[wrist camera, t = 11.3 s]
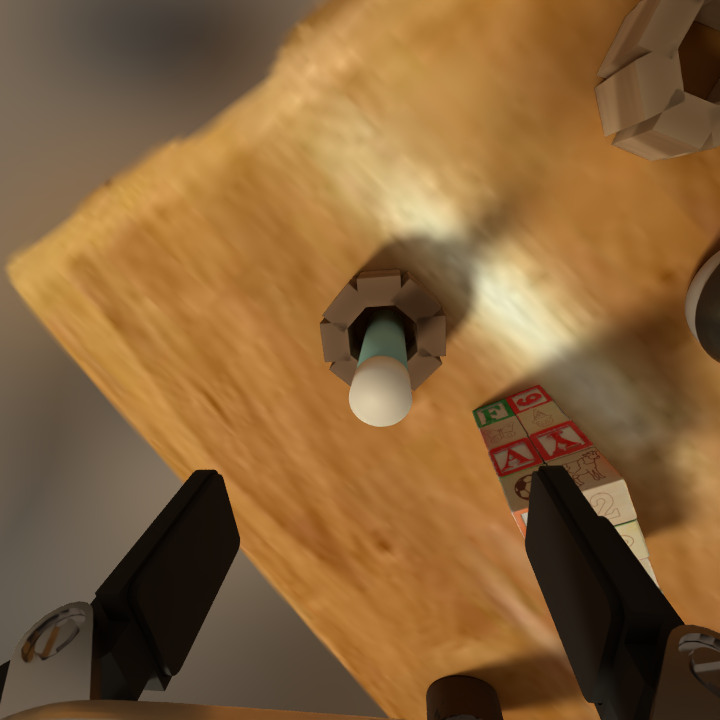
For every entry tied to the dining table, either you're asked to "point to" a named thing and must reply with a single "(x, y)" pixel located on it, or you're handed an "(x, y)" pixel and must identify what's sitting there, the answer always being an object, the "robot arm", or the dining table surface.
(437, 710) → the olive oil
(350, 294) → the bead
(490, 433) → the stack of blocks
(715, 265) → the black tapered dome
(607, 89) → the bead
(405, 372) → the teal cylinder white end
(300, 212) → the dining table surface
